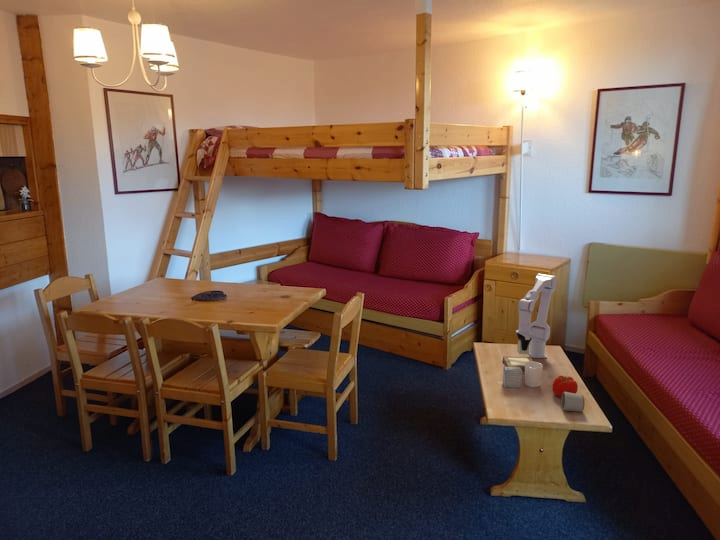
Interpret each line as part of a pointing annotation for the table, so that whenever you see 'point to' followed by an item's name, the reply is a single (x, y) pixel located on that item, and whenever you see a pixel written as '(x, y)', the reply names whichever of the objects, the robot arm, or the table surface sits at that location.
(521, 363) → the plinth
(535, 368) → the white cup
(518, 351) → the sage block
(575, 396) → the grey cylinder
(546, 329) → the robot arm
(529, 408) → the table surface
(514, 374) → the medicine box
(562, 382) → the tomato
